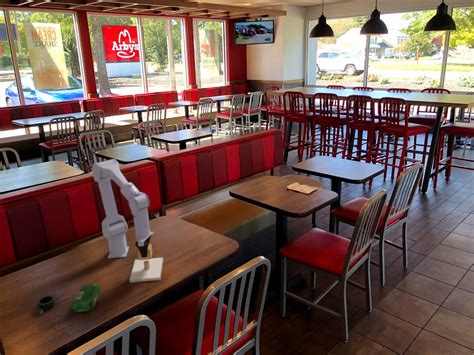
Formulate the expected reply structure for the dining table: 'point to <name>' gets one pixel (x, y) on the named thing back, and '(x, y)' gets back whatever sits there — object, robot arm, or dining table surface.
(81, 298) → the snack package
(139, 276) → the post plate
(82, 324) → the dining table surface
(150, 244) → the tan wooden block
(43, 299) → the duct tape
